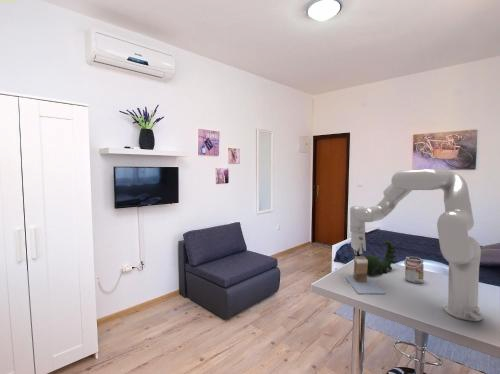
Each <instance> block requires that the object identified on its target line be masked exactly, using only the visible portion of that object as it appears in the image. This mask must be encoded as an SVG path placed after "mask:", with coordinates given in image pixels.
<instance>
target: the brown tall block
mask: <svg viewBox="0 0 500 374" xmlns="http://www.w3.org/2000/svg"><path fill="white" fill-rule="evenodd" d="M353 263H354V264H353V277H354V278H355V280H356V281H357V282H366V281H367V277H368V274H367V267H368V260H367V259H366V258H365V257H364V256H363V255H361V256H355V260H354V259H353Z"/></svg>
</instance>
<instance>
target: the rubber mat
mask: <svg viewBox="0 0 500 374" xmlns="http://www.w3.org/2000/svg"><path fill="white" fill-rule="evenodd" d="M344 279H345V280H346V281H347V282H348V283H349V285H350V286H351V287H352V288H353V290H354V291H355V293H356V294H357V295H387V292H386V291H385V290H384V289H382V288H381V287H380V286H379V285H378V284H377V283H376V282H375V281H374V280H373V279H372V278H371V277H370V276H367V281H366V282H357V281H356V280H355V278H354V276H345V277H344Z"/></svg>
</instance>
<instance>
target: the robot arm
mask: <svg viewBox="0 0 500 374" xmlns="http://www.w3.org/2000/svg"><path fill="white" fill-rule="evenodd" d="M436 190H442V191H443V203H444V212H443V213H441V215H439V217H438V218H437V223H436V228H437V229H436V230H437V236H438V242H439V249H440V253H441V254H442V257H443V258H444V259H445V260H446V261H447V262H448V281H447V282H448V283H447V285H448V290H447V291H448V292H447V297H448V298H447V300H448V301H447V303H444V305H443V310H444V312H445V313H447V314H448V315H450V316H452V317H454V318H457V319H460V320H463V321H464V320H465V321H468V322H471V321H472V322H478V321H482V320H483V319H484V318H485V316H484V315H483V313H482V312H481V309H480V307H479V279H480V276H479V275H480V262H481V256H482V255H481V254H482V248H481V245H480V243H479V242H478V241H477V239H475V238H474V237H472V236H469V233H468V232H469V231H470V230H472V229H473V228H474V224H475V221H474V220H475V219H474V216H473V209H472V204H471V198H470V193H469V188H468V183H467V182H466V180H465V178H464V177H463V176H461V175H460V174H459V173H457V172H455V171H452V170H449V169H445V168H444V169H442V168H434V169H432V168H431V169H417V170H416V169H415V170H408V169H407V170H399V171H397V172H395V173H394V174H393V175H392V177H391V183H390V184H389V185H388V186H387V187H385V189H384V190H383V198H382V199H381V200H380V201H379V202H378V203H377V204H376V205H374V206H368V207H364V206H363V205H362V206H361V205H353V206H351V207H350V208H349V210H350V211H349V215H350V217H349V221H350V222H349V227H350V228H349V231H350V246H351V248H352V249H353V261H354V260H355V256H362V255H363V252H366V251H367V247H366V246H367V244H366V234H365V233H366V223H374V222H377V221H381V220H383V219H384V218H386V217H387V216H388V215H389V214H390V213H392V212H393V210H394V209H395V208H396V207H397V205H398V204H399V203H400V202H401V201H402V200H403V199H404V198H405V197H407V196H408V195H409V194H410V193H411V192H413V191H436Z"/></svg>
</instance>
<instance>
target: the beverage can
mask: <svg viewBox="0 0 500 374" xmlns="http://www.w3.org/2000/svg"><path fill="white" fill-rule="evenodd" d="M403 263H404V266H405V280H406V281H408V282H409V283H411V284H422V283H423V282H424V259H422V258H420V257H417V256H406V257H405V260H404V262H403Z"/></svg>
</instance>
